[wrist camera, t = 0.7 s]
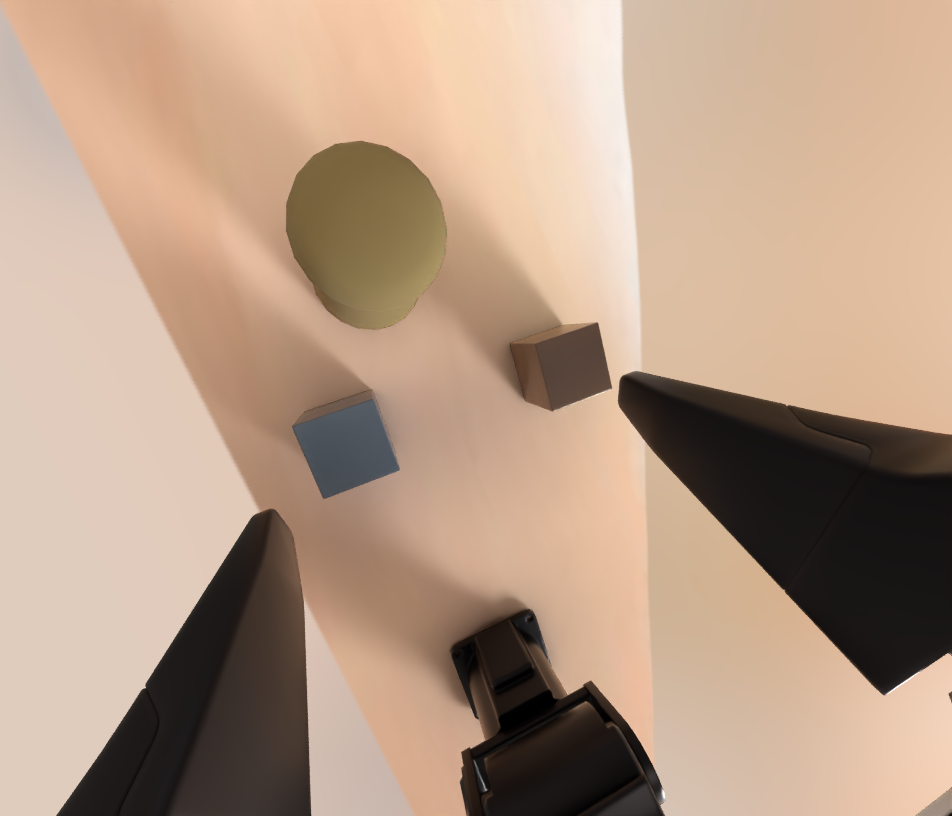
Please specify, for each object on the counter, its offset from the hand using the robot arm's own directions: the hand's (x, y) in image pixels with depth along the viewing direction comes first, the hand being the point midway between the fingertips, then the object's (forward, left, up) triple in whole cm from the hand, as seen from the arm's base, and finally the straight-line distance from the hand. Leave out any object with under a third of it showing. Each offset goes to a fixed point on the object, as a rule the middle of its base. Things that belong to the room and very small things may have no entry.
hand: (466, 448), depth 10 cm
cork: (+6, 0, -15) cm, 16 cm away
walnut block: (-2, -9, -15) cm, 17 cm away
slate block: (-2, +4, -15) cm, 15 cm away
